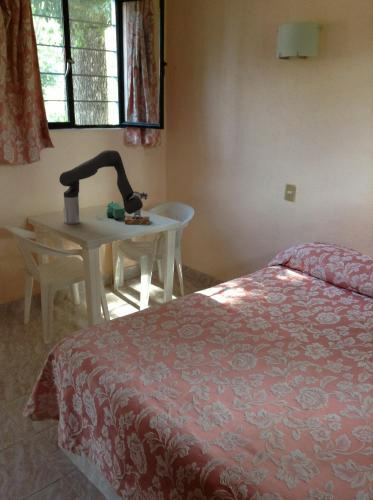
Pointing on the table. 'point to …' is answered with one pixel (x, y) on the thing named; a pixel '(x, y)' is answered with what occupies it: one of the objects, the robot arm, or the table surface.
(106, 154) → the robot arm
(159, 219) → the table surface
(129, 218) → the rail
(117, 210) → the toy
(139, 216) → the clip
